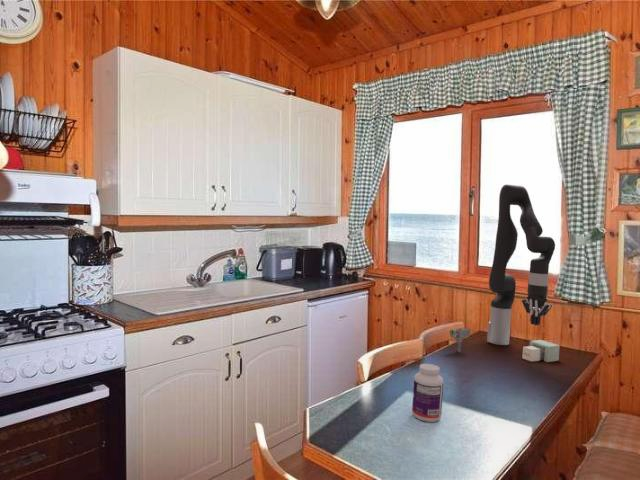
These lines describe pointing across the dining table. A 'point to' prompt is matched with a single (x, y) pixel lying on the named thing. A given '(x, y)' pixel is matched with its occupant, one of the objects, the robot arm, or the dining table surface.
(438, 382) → the pill bottle
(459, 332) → the mechanical component
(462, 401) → the dining table surface
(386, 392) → the dining table surface
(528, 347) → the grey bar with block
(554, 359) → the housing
